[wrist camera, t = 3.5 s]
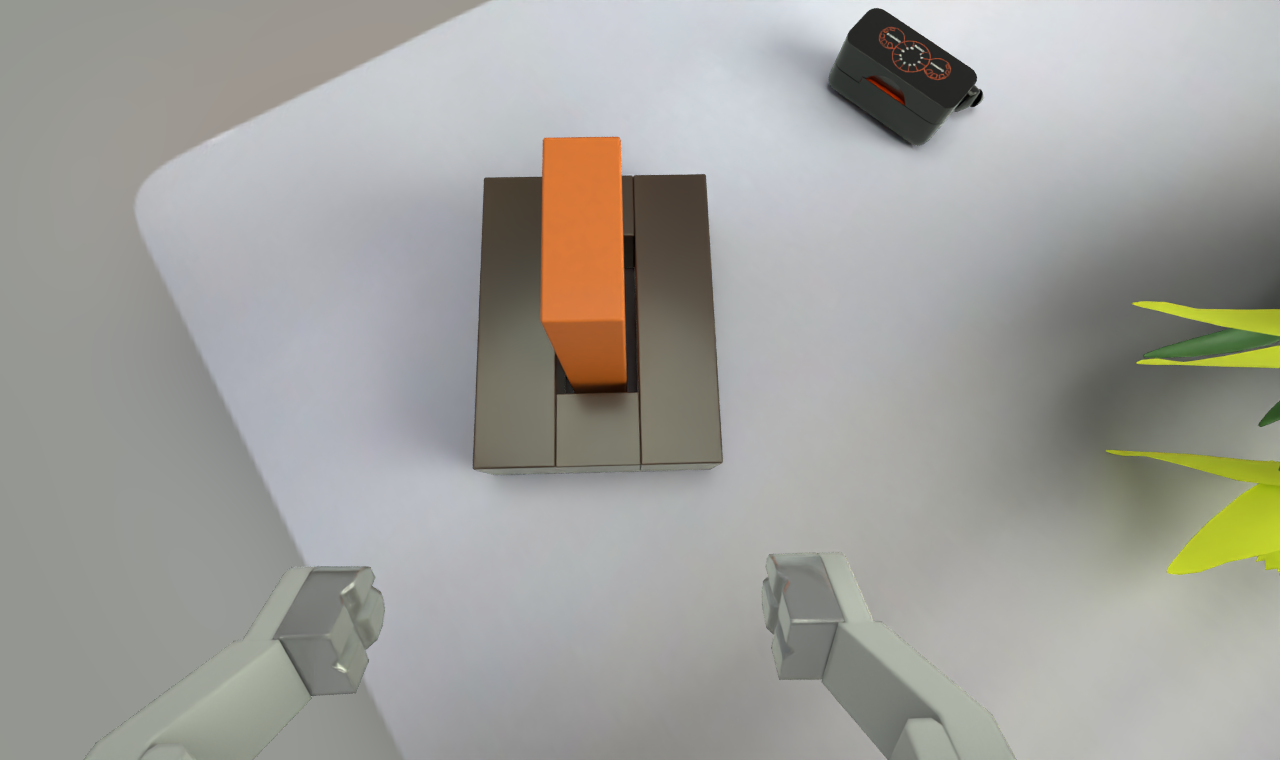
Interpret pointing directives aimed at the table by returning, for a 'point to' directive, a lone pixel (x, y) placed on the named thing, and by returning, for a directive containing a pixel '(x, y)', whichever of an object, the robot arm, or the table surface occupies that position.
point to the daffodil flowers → (1262, 516)
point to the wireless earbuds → (902, 77)
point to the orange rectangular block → (584, 261)
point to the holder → (665, 342)
